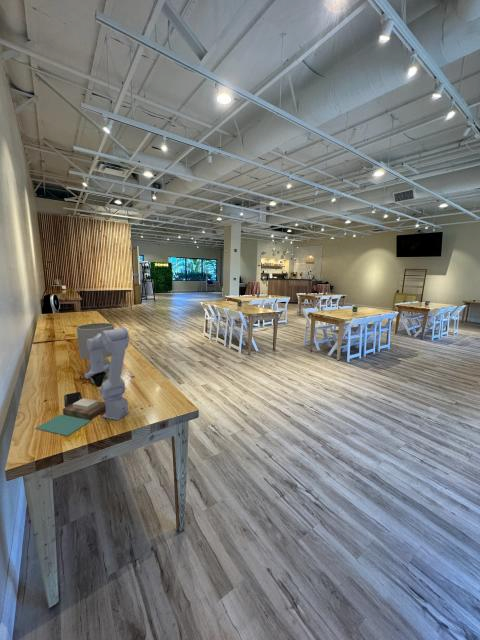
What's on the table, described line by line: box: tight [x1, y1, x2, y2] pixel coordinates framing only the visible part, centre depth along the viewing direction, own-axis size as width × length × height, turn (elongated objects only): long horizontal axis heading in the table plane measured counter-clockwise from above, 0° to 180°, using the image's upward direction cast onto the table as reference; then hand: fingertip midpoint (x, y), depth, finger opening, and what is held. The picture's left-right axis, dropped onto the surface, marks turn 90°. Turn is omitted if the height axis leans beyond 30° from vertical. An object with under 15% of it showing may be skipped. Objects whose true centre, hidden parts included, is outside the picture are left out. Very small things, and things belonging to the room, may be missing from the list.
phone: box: [63, 391, 83, 408], centre depth 142 cm, size 8×1×15 cm
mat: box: [35, 414, 92, 437], centre depth 119 cm, size 18×12×1 cm, turn 74°
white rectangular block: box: [73, 397, 99, 410], centre depth 129 cm, size 9×6×2 cm, turn 74°
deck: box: [62, 401, 106, 421], centre depth 130 cm, size 16×11×3 cm
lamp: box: [76, 322, 115, 385], centre depth 165 cm, size 20×20×35 cm
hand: (99, 386), depth 137 cm, fingers closed
